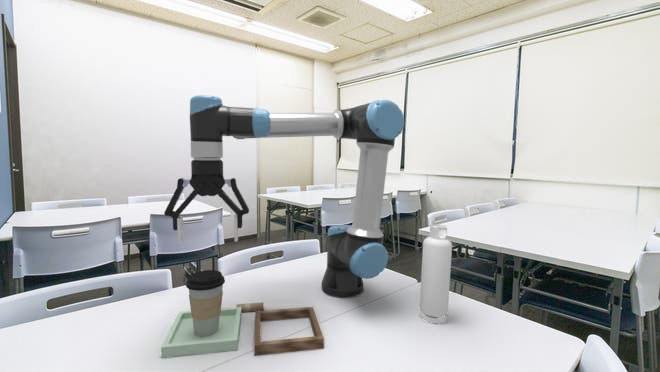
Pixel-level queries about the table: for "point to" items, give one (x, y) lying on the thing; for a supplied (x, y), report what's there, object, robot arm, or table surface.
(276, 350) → the walnut frame
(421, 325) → the table surface
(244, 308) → the birch dowel
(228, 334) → the sage tray
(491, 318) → the table surface
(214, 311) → the coffee cup
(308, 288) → the table surface
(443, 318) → the bottle
